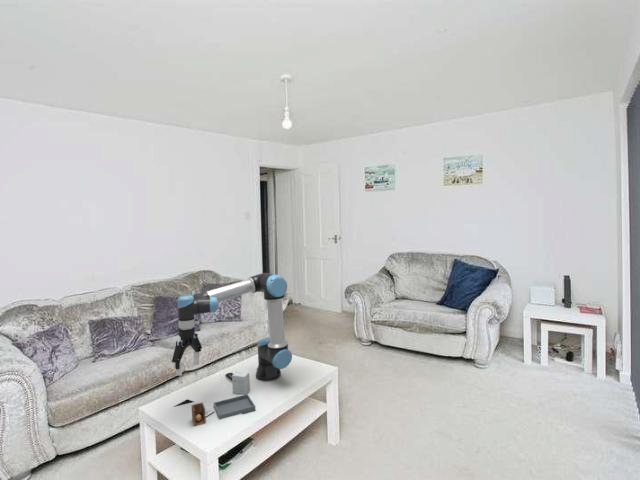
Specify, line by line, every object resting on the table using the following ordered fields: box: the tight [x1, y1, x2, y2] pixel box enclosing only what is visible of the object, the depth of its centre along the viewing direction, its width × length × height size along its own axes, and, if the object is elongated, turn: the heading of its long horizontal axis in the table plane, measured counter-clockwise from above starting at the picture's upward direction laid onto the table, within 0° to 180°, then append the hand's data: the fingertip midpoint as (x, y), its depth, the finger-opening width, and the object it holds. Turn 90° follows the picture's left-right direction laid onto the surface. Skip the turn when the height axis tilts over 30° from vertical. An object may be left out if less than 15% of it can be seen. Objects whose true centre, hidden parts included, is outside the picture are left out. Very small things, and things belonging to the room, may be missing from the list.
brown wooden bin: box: [191, 402, 207, 427], centre depth 174 cm, size 5×6×8 cm
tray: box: [213, 393, 257, 420], centre depth 186 cm, size 18×14×2 cm
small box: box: [231, 371, 251, 396], centre depth 204 cm, size 8×6×10 cm
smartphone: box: [173, 399, 195, 408], centre depth 188 cm, size 8×17×1 cm, turn 150°
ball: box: [195, 414, 202, 421], centre depth 175 cm, size 3×3×3 cm
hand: (188, 369), depth 182 cm, fingers open, 13 cm apart
